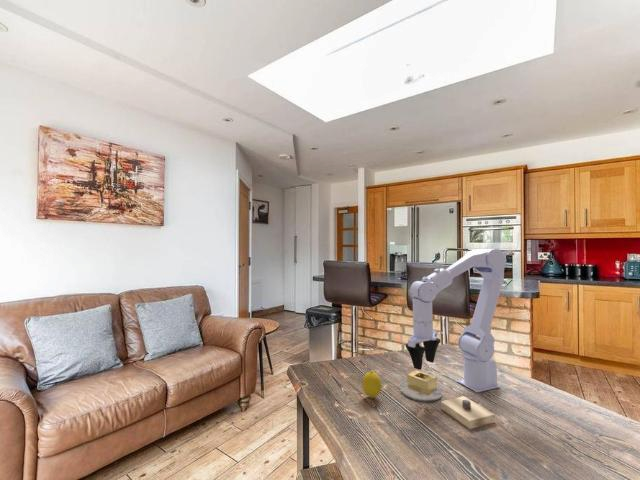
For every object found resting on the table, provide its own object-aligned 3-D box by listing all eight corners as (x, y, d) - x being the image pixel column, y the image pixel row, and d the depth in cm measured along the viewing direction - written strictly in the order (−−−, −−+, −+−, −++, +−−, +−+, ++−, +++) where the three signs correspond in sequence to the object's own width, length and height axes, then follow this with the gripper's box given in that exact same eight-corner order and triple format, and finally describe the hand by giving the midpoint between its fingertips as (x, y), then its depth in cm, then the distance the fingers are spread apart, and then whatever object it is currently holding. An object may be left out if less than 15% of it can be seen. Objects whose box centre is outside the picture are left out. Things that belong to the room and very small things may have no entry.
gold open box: (416, 382, 98) (416, 370, 98) (436, 390, 92) (436, 377, 92) (407, 387, 94) (407, 374, 94) (428, 395, 89) (427, 382, 89)
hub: (424, 380, 101) (424, 368, 101) (450, 397, 90) (450, 383, 90) (393, 386, 97) (393, 374, 97) (417, 404, 86) (416, 390, 86)
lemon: (381, 403, 87) (380, 375, 87) (362, 402, 88) (361, 374, 88) (381, 394, 92) (380, 368, 93) (363, 393, 94) (362, 366, 94)
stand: (463, 403, 86) (463, 390, 87) (494, 422, 77) (494, 408, 77) (441, 408, 84) (440, 395, 84) (469, 429, 74) (469, 414, 74)
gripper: (423, 327, 85) (424, 376, 85) (446, 318, 95) (447, 361, 95) (401, 323, 91) (402, 368, 90) (425, 314, 100) (426, 356, 100)
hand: (423, 364), depth 93 cm, fingers open, 7 cm apart
